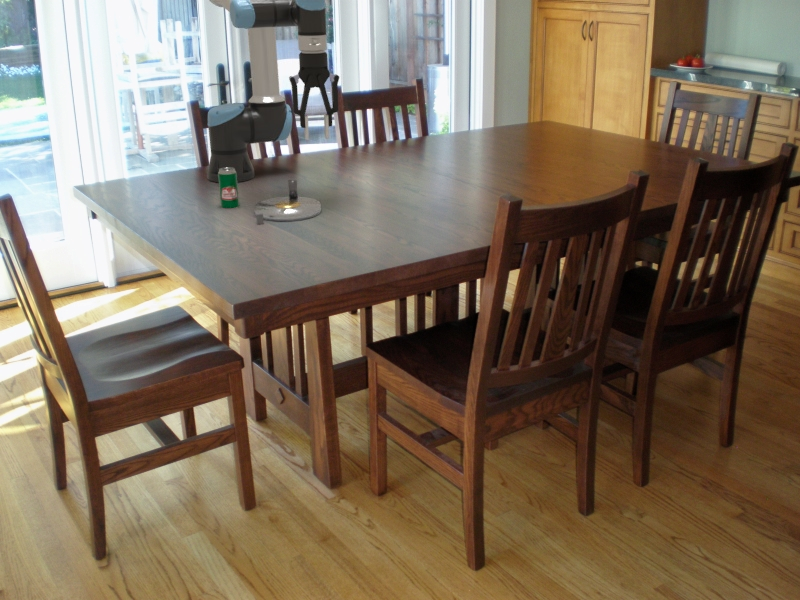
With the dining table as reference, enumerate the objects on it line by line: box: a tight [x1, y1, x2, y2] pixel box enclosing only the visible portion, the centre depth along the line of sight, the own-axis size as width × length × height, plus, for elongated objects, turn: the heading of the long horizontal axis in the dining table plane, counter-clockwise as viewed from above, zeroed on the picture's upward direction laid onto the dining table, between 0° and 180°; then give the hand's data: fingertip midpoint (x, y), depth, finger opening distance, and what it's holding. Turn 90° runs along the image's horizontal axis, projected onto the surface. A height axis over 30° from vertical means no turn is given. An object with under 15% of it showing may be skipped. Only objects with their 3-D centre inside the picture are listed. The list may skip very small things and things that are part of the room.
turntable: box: [254, 179, 322, 222], centre depth 225 cm, size 18×18×7 cm
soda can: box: [218, 167, 240, 209], centre depth 231 cm, size 5×5×12 cm
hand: (317, 138), depth 228 cm, fingers open, 5 cm apart
